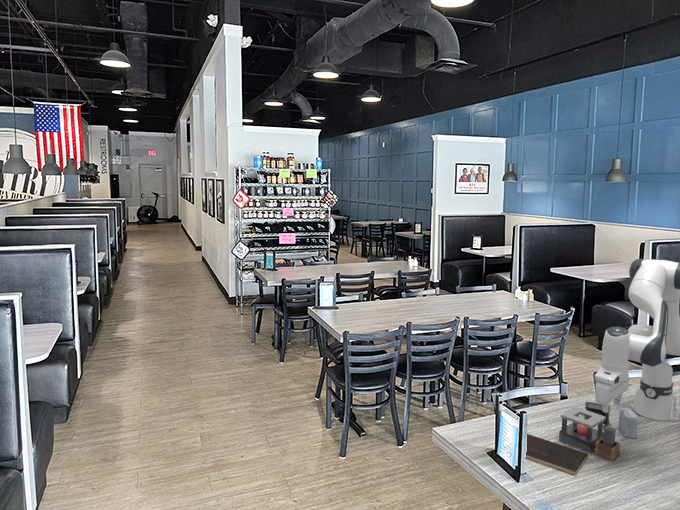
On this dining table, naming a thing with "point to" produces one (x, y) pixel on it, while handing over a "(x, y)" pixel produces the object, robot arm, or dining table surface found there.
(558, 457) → the hardcover book
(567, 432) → the grey ball cage
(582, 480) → the dining table surface
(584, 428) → the button
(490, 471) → the dining table surface
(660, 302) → the robot arm
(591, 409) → the electrical switch
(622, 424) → the medicine box
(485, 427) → the dining table surface
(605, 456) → the brown wooden box
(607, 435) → the dark gray rectangular block
